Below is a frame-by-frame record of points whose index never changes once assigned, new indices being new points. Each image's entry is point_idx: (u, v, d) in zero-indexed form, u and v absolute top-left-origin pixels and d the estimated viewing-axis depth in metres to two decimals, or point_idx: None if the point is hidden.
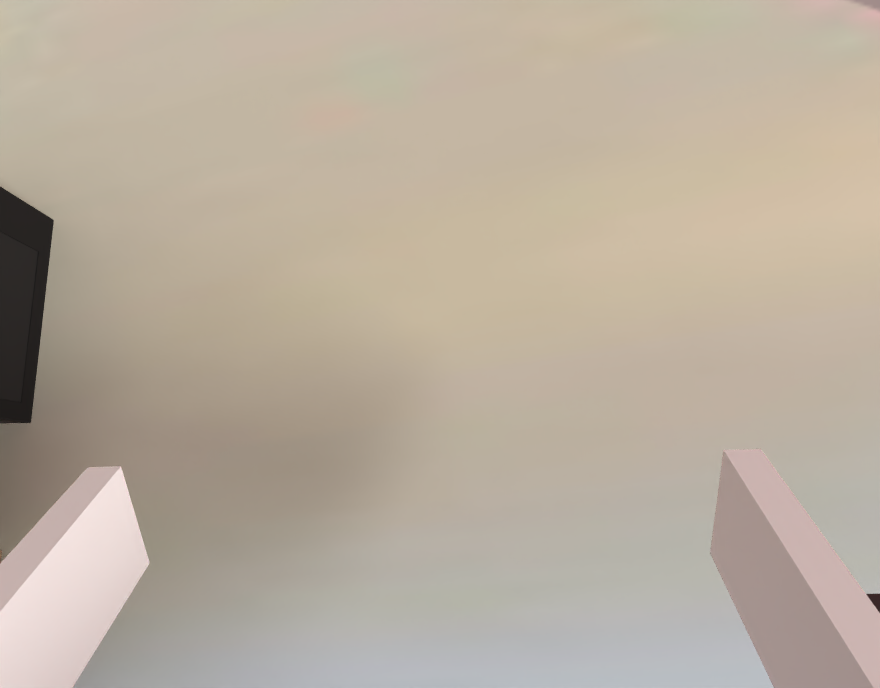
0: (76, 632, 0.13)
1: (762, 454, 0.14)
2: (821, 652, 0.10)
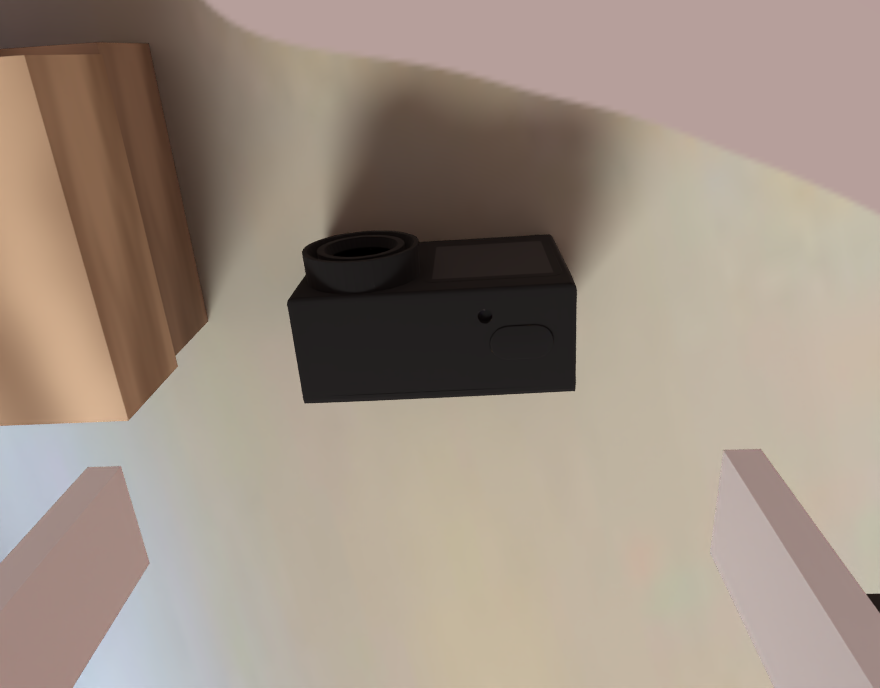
0: (76, 632, 0.13)
1: (762, 454, 0.14)
2: (821, 652, 0.10)
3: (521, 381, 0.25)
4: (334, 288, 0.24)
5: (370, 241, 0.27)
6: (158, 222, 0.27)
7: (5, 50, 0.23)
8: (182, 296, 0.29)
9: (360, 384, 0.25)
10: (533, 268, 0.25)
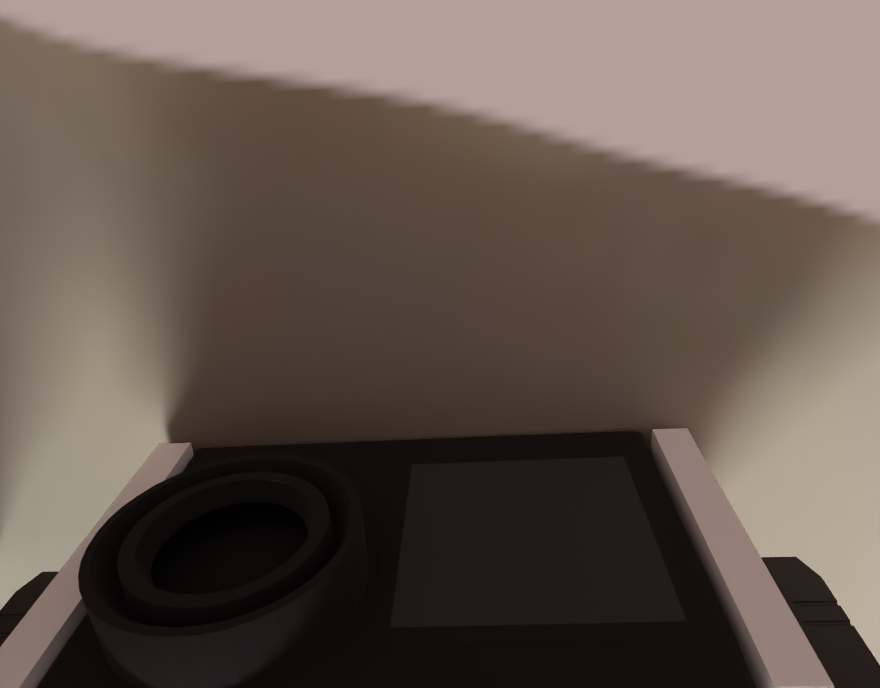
0: None
1: (687, 433, 0.15)
2: None
3: None
4: (139, 679, 0.09)
5: (262, 490, 0.12)
6: None
7: None
8: None
9: None
10: (631, 591, 0.11)
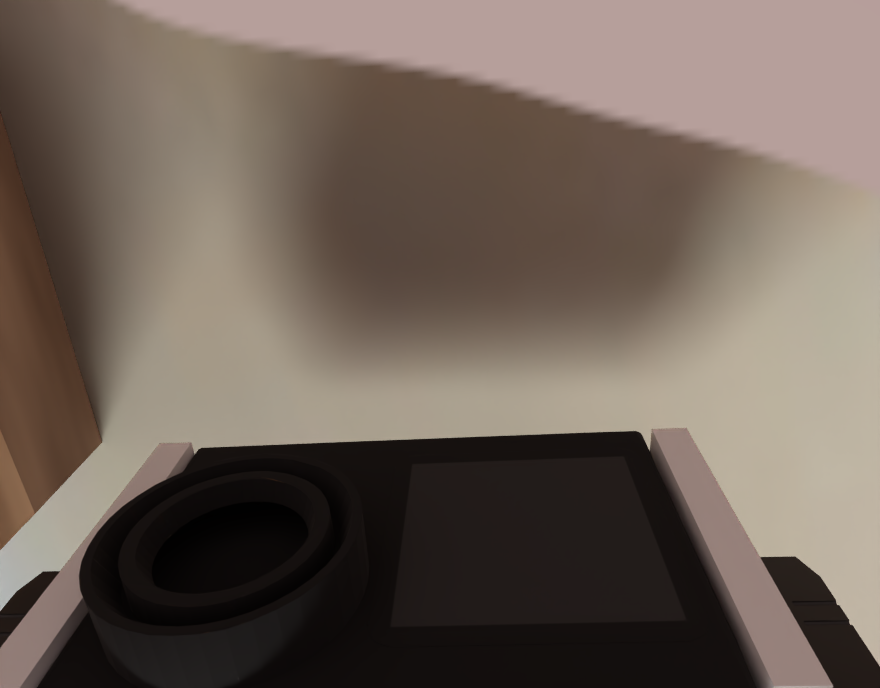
0: None
1: (686, 433, 0.15)
2: None
3: None
4: (139, 678, 0.09)
5: (263, 489, 0.12)
6: None
7: None
8: (49, 418, 0.19)
9: None
10: (632, 591, 0.11)
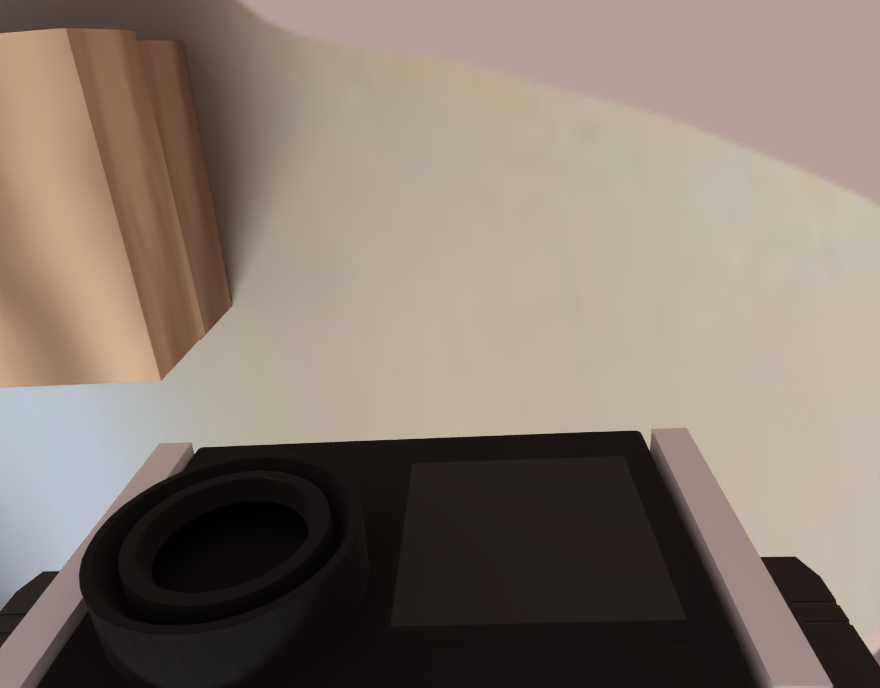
0: None
1: (686, 433, 0.15)
2: None
3: None
4: (139, 677, 0.09)
5: (263, 488, 0.12)
6: (188, 211, 0.29)
7: None
8: (208, 281, 0.30)
9: None
10: (632, 590, 0.11)
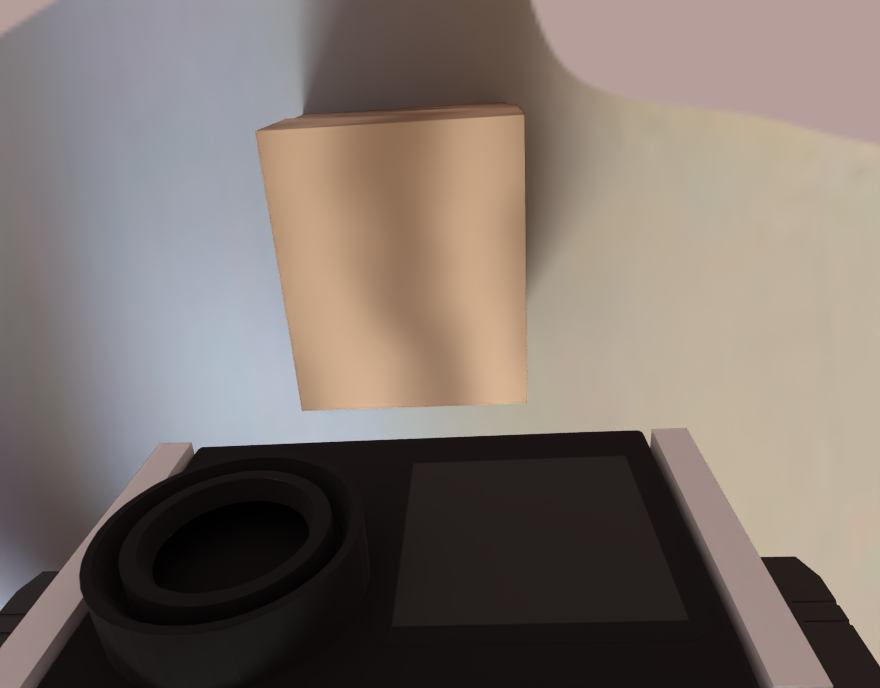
0: None
1: (687, 433, 0.15)
2: None
3: None
4: (140, 678, 0.09)
5: (264, 488, 0.12)
6: None
7: None
8: None
9: None
10: (634, 590, 0.11)
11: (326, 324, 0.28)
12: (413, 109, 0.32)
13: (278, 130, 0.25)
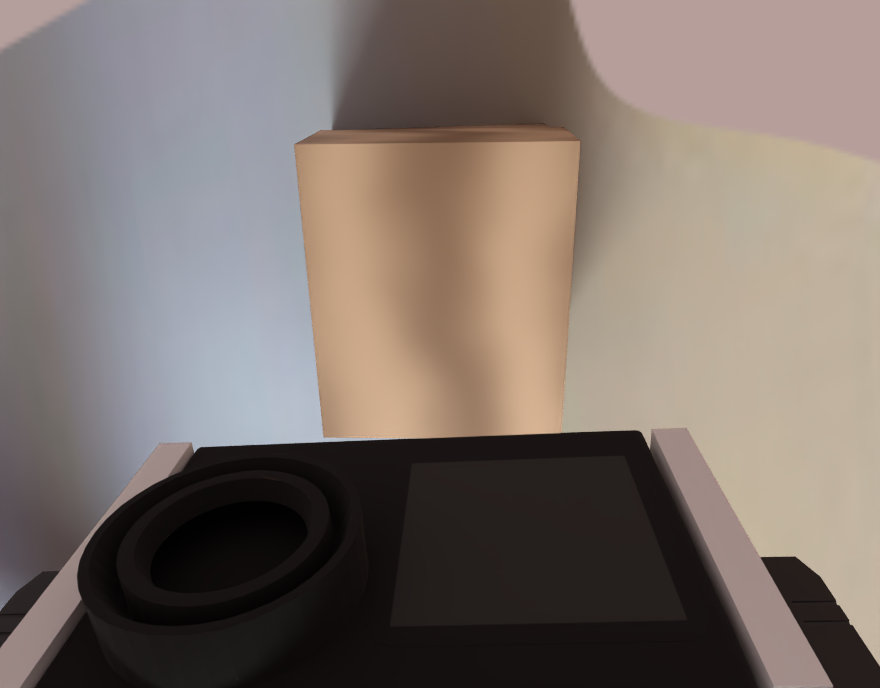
0: None
1: (687, 433, 0.15)
2: None
3: None
4: (138, 678, 0.09)
5: (262, 488, 0.12)
6: None
7: None
8: None
9: None
10: (632, 590, 0.11)
11: (355, 349, 0.27)
12: (448, 128, 0.31)
13: (318, 144, 0.24)
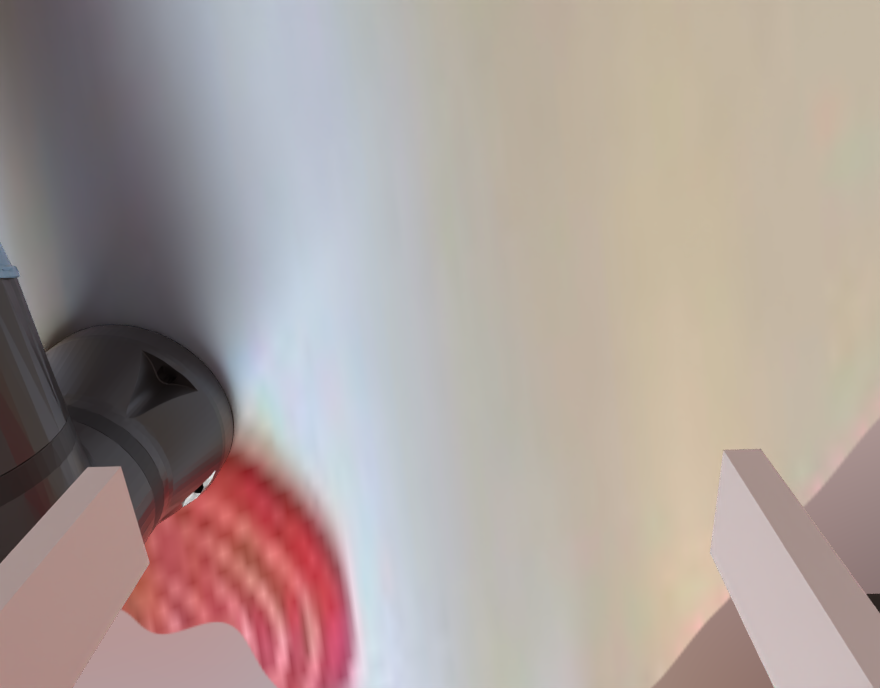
0: (76, 632, 0.13)
1: (762, 454, 0.14)
2: (821, 652, 0.10)
3: None
4: None
5: None
6: None
7: None
8: None
9: None
10: None
11: None
12: None
13: None
